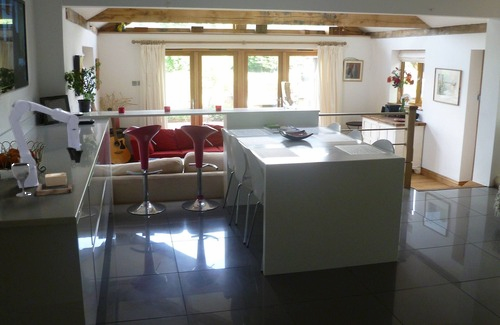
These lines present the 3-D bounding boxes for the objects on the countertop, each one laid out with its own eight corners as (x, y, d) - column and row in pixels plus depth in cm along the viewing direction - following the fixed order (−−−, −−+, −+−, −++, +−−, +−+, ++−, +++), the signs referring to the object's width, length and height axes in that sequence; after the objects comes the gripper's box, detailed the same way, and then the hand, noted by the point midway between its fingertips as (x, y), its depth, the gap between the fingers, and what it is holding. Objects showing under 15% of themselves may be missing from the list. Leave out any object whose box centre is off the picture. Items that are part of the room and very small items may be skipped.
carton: (46, 186, 253) (45, 177, 252) (46, 183, 259) (45, 174, 258) (66, 184, 256) (65, 175, 255) (66, 181, 263) (65, 172, 261)
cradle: (36, 195, 237) (36, 191, 237) (39, 187, 251) (38, 183, 250) (71, 192, 242) (71, 188, 241) (72, 184, 255) (72, 181, 255)
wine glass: (13, 197, 235) (9, 167, 231) (16, 192, 242) (12, 163, 238) (31, 196, 237) (28, 165, 233) (33, 191, 244) (30, 162, 241)
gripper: (85, 137, 258) (87, 162, 261) (76, 133, 269) (78, 158, 273) (71, 139, 254) (73, 164, 257) (63, 135, 265) (65, 159, 268)
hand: (75, 161), depth 265 cm, fingers open, 7 cm apart
